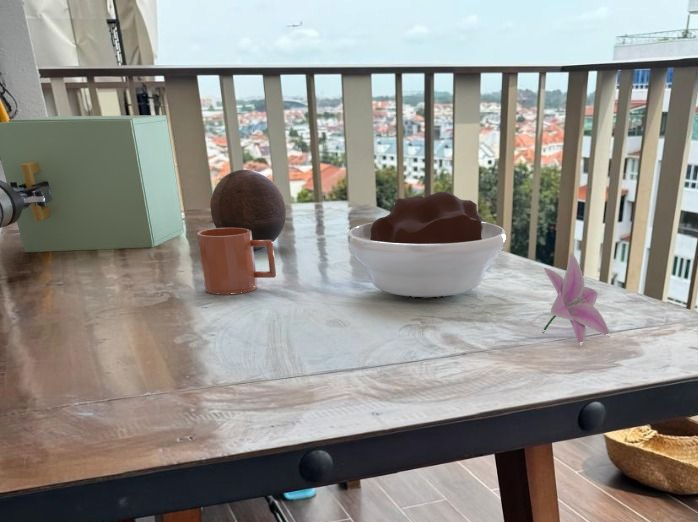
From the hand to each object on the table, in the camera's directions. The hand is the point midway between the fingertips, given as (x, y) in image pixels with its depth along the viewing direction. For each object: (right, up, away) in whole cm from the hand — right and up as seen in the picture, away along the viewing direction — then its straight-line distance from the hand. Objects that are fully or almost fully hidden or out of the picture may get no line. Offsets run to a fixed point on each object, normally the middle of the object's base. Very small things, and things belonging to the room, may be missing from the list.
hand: (41, 188), depth 150 cm
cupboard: (+7, -2, +19) cm, 21 cm away
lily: (+95, -43, -50) cm, 116 cm away
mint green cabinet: (+7, -11, +5) cm, 14 cm away
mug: (+45, -28, -23) cm, 58 cm away
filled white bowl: (+76, -30, -27) cm, 86 cm away
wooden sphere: (+41, -10, +7) cm, 43 cm away
